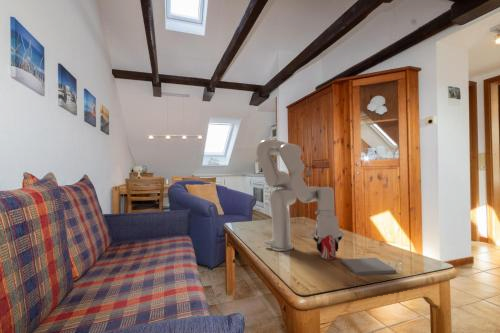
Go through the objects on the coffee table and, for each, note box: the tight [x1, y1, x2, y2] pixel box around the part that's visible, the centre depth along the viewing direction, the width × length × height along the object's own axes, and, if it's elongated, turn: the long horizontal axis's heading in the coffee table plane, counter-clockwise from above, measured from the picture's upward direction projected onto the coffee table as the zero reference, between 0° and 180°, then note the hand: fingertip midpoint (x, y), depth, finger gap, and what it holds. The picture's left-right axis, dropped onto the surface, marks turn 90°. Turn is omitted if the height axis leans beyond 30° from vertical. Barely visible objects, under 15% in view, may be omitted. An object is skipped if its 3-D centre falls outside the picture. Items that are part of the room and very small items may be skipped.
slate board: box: [341, 257, 397, 276], centre depth 103 cm, size 16×14×1 cm
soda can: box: [319, 235, 337, 261], centre depth 115 cm, size 7×7×12 cm
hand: (327, 250), depth 115 cm, fingers closed on soda can, 7 cm apart
